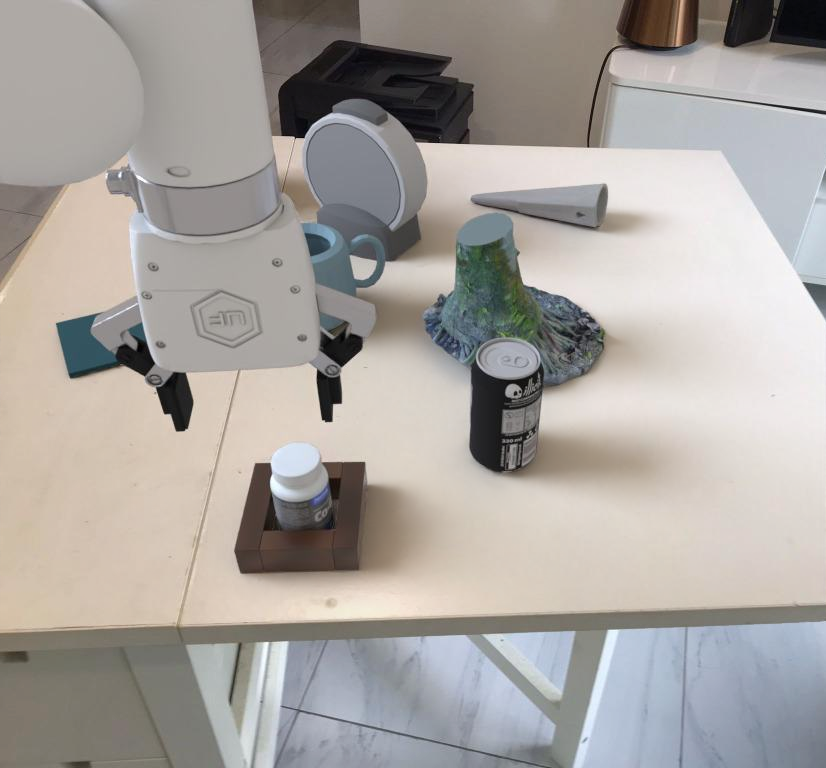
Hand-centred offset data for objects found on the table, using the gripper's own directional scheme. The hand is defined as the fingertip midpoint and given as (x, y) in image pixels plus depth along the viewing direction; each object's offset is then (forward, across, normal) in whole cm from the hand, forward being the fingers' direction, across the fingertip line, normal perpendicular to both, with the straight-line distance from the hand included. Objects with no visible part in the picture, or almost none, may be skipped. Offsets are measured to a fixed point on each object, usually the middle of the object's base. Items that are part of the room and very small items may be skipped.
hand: (257, 413), depth 56 cm
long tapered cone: (+18, +32, +60) cm, 70 cm away
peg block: (+17, +1, +4) cm, 18 cm away
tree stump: (+18, +24, +29) cm, 41 cm away
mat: (+17, -21, +33) cm, 43 cm away
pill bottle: (+18, +1, +4) cm, 18 cm away
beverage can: (+18, +20, +12) cm, 29 cm away
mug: (+18, +2, +37) cm, 41 cm away
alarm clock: (+18, +7, +54) cm, 57 cm away
